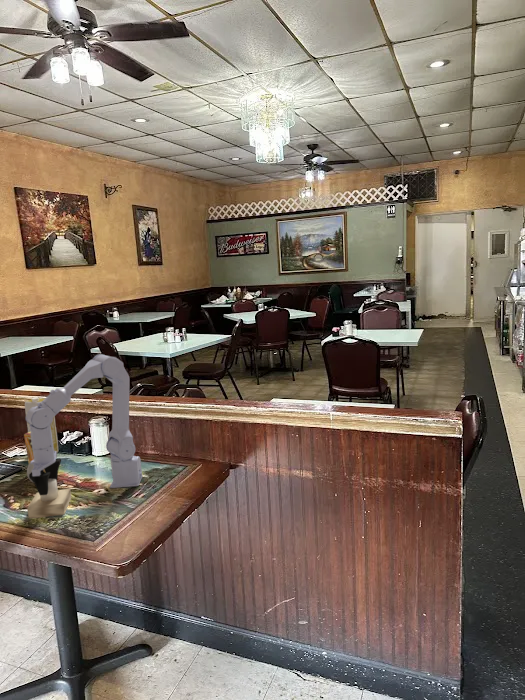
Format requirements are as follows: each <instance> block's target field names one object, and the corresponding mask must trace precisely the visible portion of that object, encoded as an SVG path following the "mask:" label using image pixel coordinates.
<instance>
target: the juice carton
mask: <svg viewBox="0 0 525 700" xmlns="http://www.w3.org/2000/svg"><path fill="white" fill-rule="evenodd" d="M45 398H46V397H45ZM45 398H42V397H41V398H40V397H39V396H35V397H32V398H31V399H29V400H26V401H24V410H25V412H24V413H25V416H26V415H27V412H28V411H29V410H30V409H31V408H32V407H35V406H38V405H37V403H39V402H42V401H43V400H44V399H45ZM55 416H56V415H55ZM55 416H54V417H53V421H52V423H51V425H50V426H51V432H52V440H53V447H54V451H57V454H58V453H59V442H58V433H57V427H56V417H55ZM26 425H27V426H26V427H27V433H28V432H30V424H29V423H28V422H27V421H26Z"/></svg>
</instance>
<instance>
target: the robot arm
mask: <svg viewBox="0 0 525 700" xmlns="http://www.w3.org/2000/svg"><path fill="white" fill-rule="evenodd" d="M104 377H105V378H106V379H108V381H110V382H111V383H112V404H111V405H112V406H111V408H112V410H111V411H112V415H111V416H112V417H111V419H112V421H111V422H112V425H111V431H109V433H108V439H107V441H106V444H105V445H106V446H105V447H106V451H107V452H108V453H110V466H111V474H112V481H111V484H110V485H109V489H116V488H117V489H118V488H128V487H139V485H140V483H141V481H142V479H143V472H142V469H143V468H142V460H141V457H140V456H139V455H137V456H136V455H135V453H136V445H135V443H134V436H133V434H132V433H131V431H130V387H131V386H130V376H129V373H128V371H127V370H126V369H125V367H124V362H123V361H122V360H120V359H119V358H117V356H110V355H105V354H103V353H102V354H101V353H100V354H99V353H98V354H96V355H95V356H94V357H93V358H92V359H90V360H89V361H87V363H86V364H85V366H83V368H81V369H80V371H79V372H78V373H77V374H76V375H74V376H73V377H72V379H70V380H69V381H68V382H67V383H66V384H65V385H64V386H63V387H61V388H60V387H57V388H55V389H51V390H50V391H49V394H48V395H47V396H46V397H45V399H44V400H43V401H42V402H39V403H37V405H38V406H35V407H32V408H31V409H30V410H29V411H28V412H27V415H26V414H25V419H24V420H25V421H26V423H27V422H28V423H29V424H30V432H31V433H30V434H31V442H32V449H33V456H34V460H32V461H31V462H30V464H33V469H32V472H31V473H30V474H29V478H30V479H31V480H32V481H33V482H32V483H33V484H34V485H35V487H36V490H37V493H38V492H39V494H40V495H47V494H48V480H49V479H56V481H57V482H58V475H59V469H60V465H61V463H62V458H60V457H59V458H57V457H58V453H57V451H54V447H53V440H52V432H51V426H50V425H51V423H52V421H53V417H54V416H56V415H57V414H59V413H60V412H61V411H62V410H63V409H64V408H65V407H66V406H68V404H69V403H70V402H71V401H72V400H71V399H72V395H74V394H75V393H76V392H77V391H79V390H80V389H81V388H82V387H84V385H86V384H87V383H89V382H90V381H91V380H94V379H99V378H101V379H102V378H104ZM43 469H45V472H46V473H45V472H44V471H43ZM29 478H28V479H29Z"/></svg>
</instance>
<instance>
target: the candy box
mask: <svg viewBox="0 0 525 700" xmlns="http://www.w3.org/2000/svg"><path fill="white" fill-rule="evenodd" d="M30 433H31V432H28V431H27V432H26V433H24V434H23V436H24V437H23V438H24V442H25V449H26V454H27V462H28V465H29V464H30V462H31V461H32V460H34V456H33V449H32V442H31V434H30ZM43 471H44V472H45V469H43ZM45 473H46V472H45Z"/></svg>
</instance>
